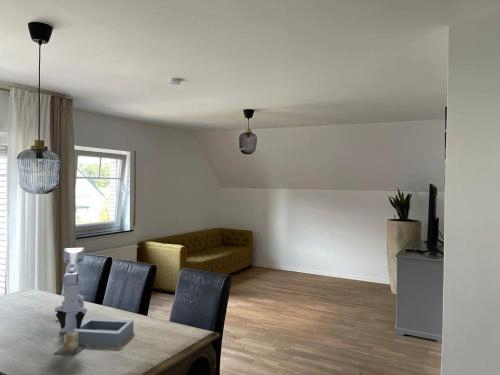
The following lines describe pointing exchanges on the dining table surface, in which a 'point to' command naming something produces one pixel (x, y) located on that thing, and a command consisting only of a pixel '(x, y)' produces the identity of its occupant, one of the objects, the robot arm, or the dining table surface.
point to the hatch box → (104, 331)
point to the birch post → (70, 341)
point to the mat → (70, 351)
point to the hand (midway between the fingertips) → (70, 327)
